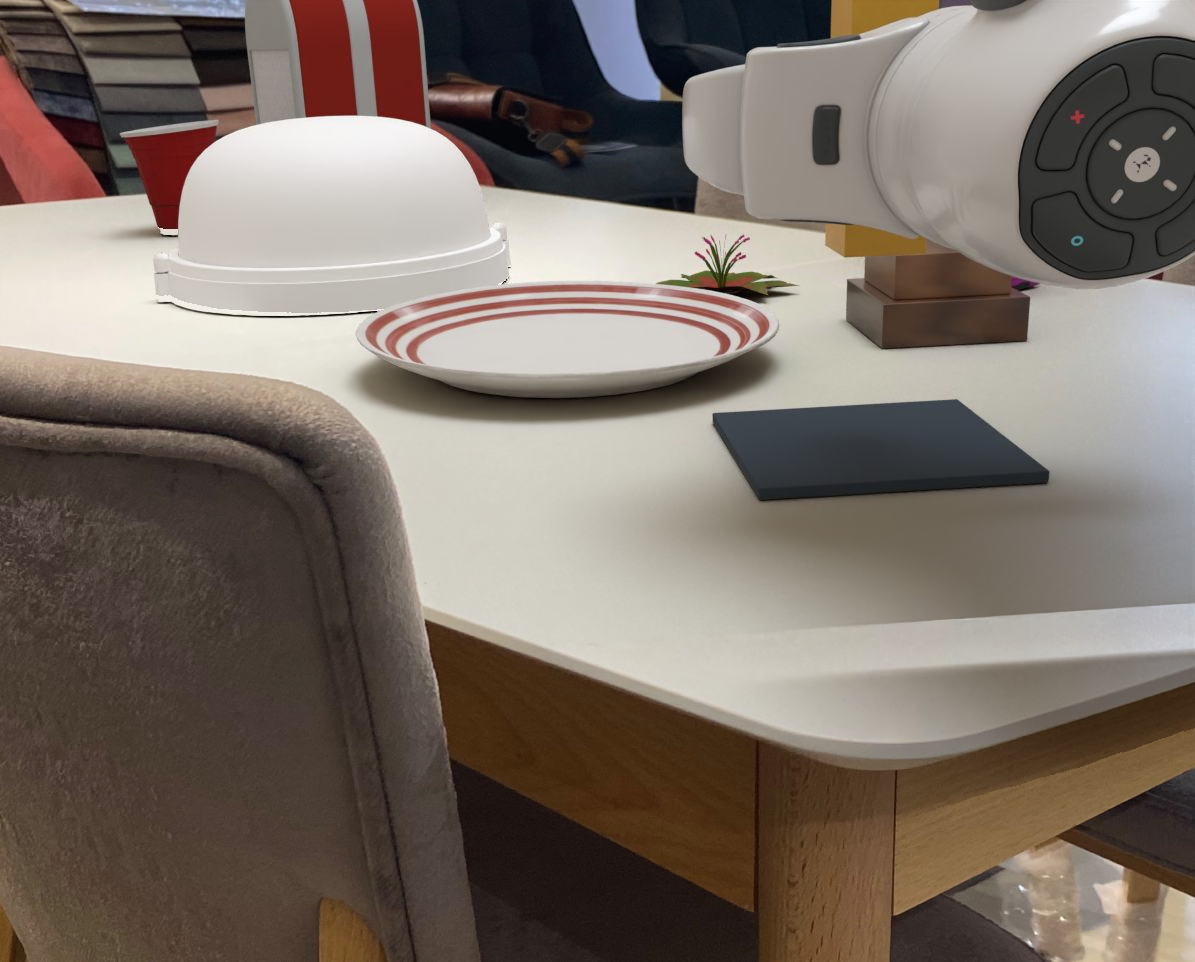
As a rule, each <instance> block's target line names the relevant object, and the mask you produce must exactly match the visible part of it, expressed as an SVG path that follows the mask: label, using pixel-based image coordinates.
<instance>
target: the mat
mask: <svg viewBox="0 0 1195 962" xmlns="http://www.w3.org/2000/svg"><path fill="white" fill-rule="evenodd" d="M712 424H713V425H714V427H715V429H716V431H717V432H718V434H719V435H720V437H721V439H722V440H723V442H724V444H725V446H726V447H727V449H728V450H729V452H730V454H731V456H732V457H733V458H734V460H735V462H736V464H737V465H738V467H739V469H740V471H741V472H742V473H743V476H744V477H745V479H746V481H747V482H748V484H749V485H750V488H751V489H752V490H753V492H754V494H755V496H756V497H757V498H758V500H759V501H767V500H769V501H770V500H783V499H800V498H803V499H804V498H817V497H819V498H820V497H834V496H836V497H837V496H849V495H852V496H853V495H865V494H869V495H870V494H883V493H885V494H886V493H899V492H916V491H918V492H919V491H932V490H933V491H935V490H949V489H965V488H967V489H968V488H980V487H981V488H982V487H995V486H997V487H1000V486H1014V485H1015V486H1017V485H1030V484H1031V485H1032V484H1033V485H1034V484H1048V483H1049V482H1050V470H1049V469H1047V468H1046V467H1045V466H1044V465H1042V464H1041V463H1040V462H1038V461H1037V460H1036V459H1034V458H1033V457H1032V456H1031V455H1029V454H1028V453H1027V452H1026V451H1024V450H1023V448H1021V447H1019V446H1018V445H1016V444H1015V443H1014V442H1013V441H1012V440H1011V439H1009V438H1007V436H1005V435H1004V434H1003V433H1001V431H999V430H998V429H996V428H995V427H994V426H992V425H991V424H990V423H989V422H987V421H986V420H985V419H983V417H981V416H979V415H978V414H977V413H976V412H975V411H973V410H972V409H971V408H970V407H968V406H967V405H966V404H964V403H963V402H961V401H960V400H959V399H957V398H955V399H953V398H951V399H935V400H934V399H933V400H918V401H901V402H900V401H899V402H882V403H865V404H863V403H862V404H848V405H829V406H827V405H826V406H815V407H814V406H811V407H794V408H779V409H778V408H775V409H759V410H741V411H740V410H739V411H722V412H713V413H712Z"/></svg>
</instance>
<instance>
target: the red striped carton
mask: <svg viewBox="0 0 1195 962" xmlns="http://www.w3.org/2000/svg"><path fill="white" fill-rule="evenodd" d="M244 29H245V30H244V31H245V42H246V51H247V52H246V53H247V58H248V59H247V60H248V66H249V68H248V69H249V77H250V83H251V93H252V101H253V108H254V109H253V110H254V118H255V125H259V124H263V123H268V122H274V121H280V120H287V119H296V118H308V117H323V116H374V117H386V118H394V119H400V120H405V121H409V122H413V123H416V124H420V125H423V126H425V127H428V128H430V129H432V126H431V125H432V124H431V113H430V99H429V85H428V75H427V72H428V71H427V60H426V47H425V35H424V27H423V19H422V15H421V10H420V6H419V3H418V0H245V7H244Z"/></svg>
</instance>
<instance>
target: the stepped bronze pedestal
mask: <svg viewBox="0 0 1195 962" xmlns="http://www.w3.org/2000/svg"><path fill="white" fill-rule="evenodd" d="M1011 282H1012V276H1010V275H1007V274H1004V273H1001V272H998V271H995V270H993V269H991V268H988V267H986V266H983V265H981V264H979V263H977V262H975V261H973V260H971V259H969V258H967V257H966V256H964V255H962V254H961V253H960V252H958V251H957V250H954V249H950V248H947V247H944V246H942V245H939V244H937V243H935V242H933V241H930V240H928V239H927V244H926V254H911V255H889V256H868V257H864V276H863V277H861V278H860V277H859V278H847V279H846V302H845V303H846V305H845V307H846V308H845V320H846V321H847V322H848V323H849V324H850V325H852V326H853V327H854V328H856V329H857V330H858V331H860V332H861V333H862V334H864V336H866V337H867V338H868V339H870V340H871V341H872V342H873V343H875V344H876V345H877V346H878V347H880V348H881V349H882V350H883V349H903V348H918V347H919V348H920V347H938V346H939V347H940V346H955V345H976V344H994V343H1011V342H1012V343H1013V342H1026V341H1028V336H1029V335H1028V334H1029V321H1030V320H1029V319H1030V308H1031V296H1030V295H1028V294H1026V293H1024V292H1022V291H1020V290H1016V289H1014V288H1012V287H1011Z"/></svg>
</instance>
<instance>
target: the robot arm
mask: <svg viewBox="0 0 1195 962" xmlns="http://www.w3.org/2000/svg"><path fill="white" fill-rule="evenodd" d="M970 1H971V5H952V6H948V7H942V8H939V9H938V10H935V11H931V12H929V13H926V14H924V15H921V16H919V17H911V18H905V19H902V20H899V21H896V22H893V23H890V24H888V25H885V26H882V27H880V28H877V29H874V30H871V31H868V32H865V33H862V34H859V35H845V36H840V37H835V38H831V37H830V38H823V39H818V40H809V41H799V42H798V41H797V42H786V43H784V42H783V43H777V46H759V47H755V48H752V49H751V50H749V51H748V52H747V53H746V58H745V63H744V64H739V65H733V66H729V67H723V68H719V69H715V70H712V71H708V72H704V73H701V74H700V73H699V74H697V75H694V76H691V77H690V78H688V79H687V81H686V82H685V84H684V86H683V91H682V107H681V110H682V113H681V115H682V116H681V117H682V120H681V123H682V124H681V126H682V129H681V130H682V149H683V151H682V152H683V158H684V162H685V164H686V166H687V168H688V169H689V170H690V171H691V172H692V173H693V174H695V176H697V177H698V178H700V179H701V180H702V181H703V182H706V183H707V184H709V185H710V186H711V187H714V188H716V189H718V190H720V191H723V192H726V193H729V194H734V195H737V196H738V195H739V196H743V198H744V199H743V200H744V207H745V211H746V213H747V214H749V215H750V216H752V217H754V218H757V219H760V220H778V221H781V222H791V223H795V222H796V223H818V224H819V223H820V224H826V223H830V224H841V225H854V224H855V225H861V226H866V227H871V228H875V229H879V230H883V231H887V232H890V233H893V234H896V235H900V236H903V237H906V238H910V239H916V238H918V237H919V235H920V236H922V237H924V238H926V239H928V240H930V241H933V242H935V243H937V244H939V245H942V246H944V247H947V248H950V249H954V250H957V251H958V252H960V253H961V254H962V255H964V256H966V257H967V258H969V259H971V260H973V261H975V262H977V263H979V264H981V265H983V266H986V267H988V268H991V269H993V270H995V271H998V272H1001V273H1004V274H1007V275H1010V276H1013V277H1016V278H1020V279H1023V280H1028V281H1032V282H1036V283H1040V284H1041V285H1046V286H1052V287H1057V288H1058V287H1060V288H1065V289H1066V288H1067V289H1076V290H1100V289H1108V288H1114V287H1115V288H1116V287H1118V286H1123V285H1127V284H1132V283H1135V282H1139V281H1142V280H1145V279H1148V278H1150V277H1153V276H1157V275H1159V274H1161V273H1163V272H1165V271H1168V270H1170V269H1172V268H1175V267H1177V266H1179V265H1180V264H1182V263H1184V262H1186V261H1187V260H1190V259H1191V258H1192V257H1193V256H1195V0H970Z"/></svg>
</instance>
